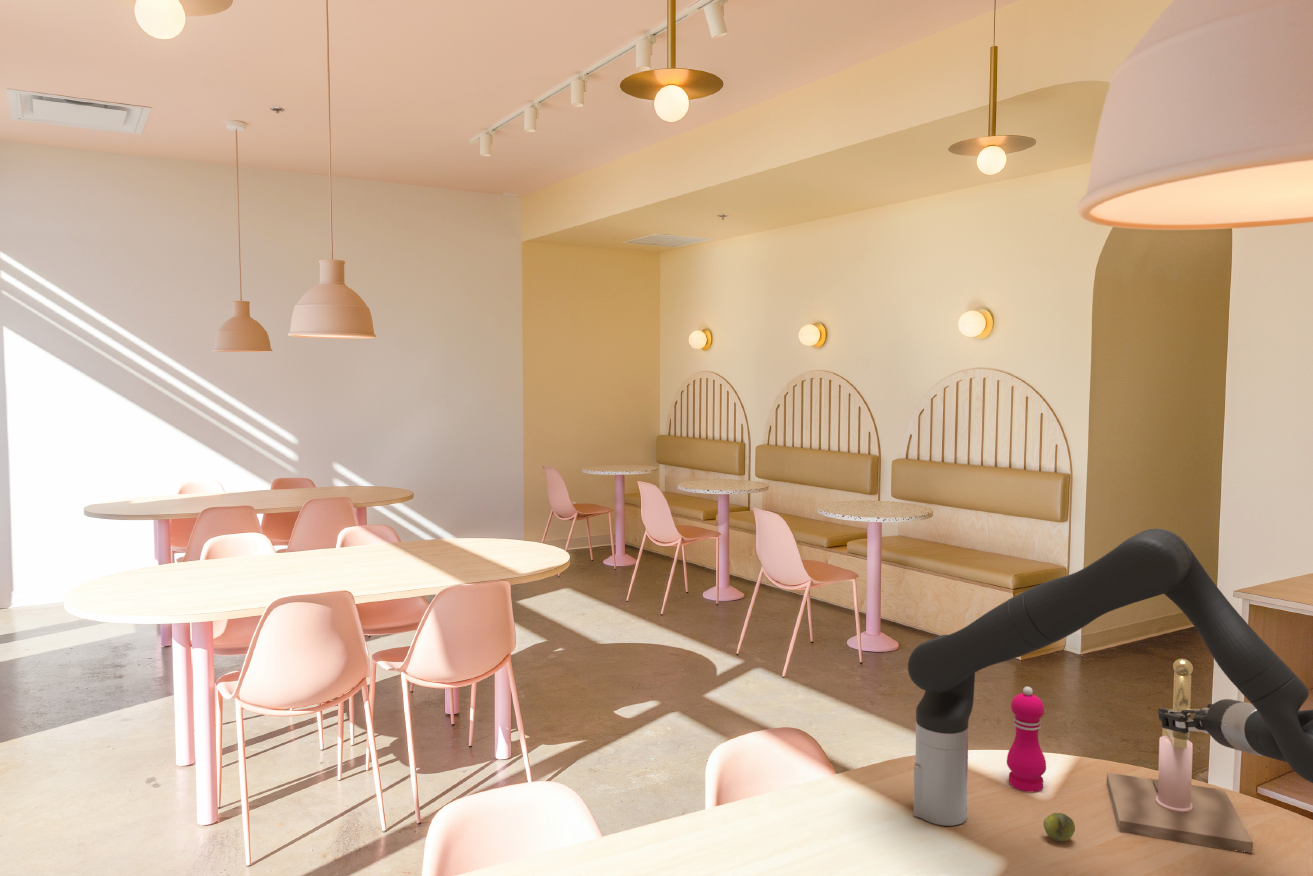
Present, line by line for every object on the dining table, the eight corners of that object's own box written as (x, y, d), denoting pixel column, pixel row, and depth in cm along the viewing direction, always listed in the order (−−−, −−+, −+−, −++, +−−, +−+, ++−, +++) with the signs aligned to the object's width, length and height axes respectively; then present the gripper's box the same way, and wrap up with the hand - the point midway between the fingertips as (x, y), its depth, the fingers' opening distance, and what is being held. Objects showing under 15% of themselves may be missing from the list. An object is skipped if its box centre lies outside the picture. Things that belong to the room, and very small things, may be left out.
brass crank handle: (1155, 772, 166) (1160, 636, 165) (1173, 774, 165) (1177, 637, 164) (1170, 809, 152) (1175, 660, 150) (1189, 812, 151) (1194, 662, 149)
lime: (1039, 836, 150) (1039, 809, 150) (1060, 831, 152) (1060, 804, 151) (1059, 849, 146) (1059, 821, 146) (1080, 844, 148) (1081, 816, 147)
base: (1119, 831, 151) (1119, 816, 151) (1106, 782, 170) (1106, 768, 170) (1252, 854, 144) (1253, 838, 144) (1224, 799, 162) (1224, 785, 162)
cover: (1158, 809, 155) (1160, 745, 154) (1153, 794, 161) (1155, 733, 160) (1195, 815, 153) (1197, 750, 152) (1188, 800, 158) (1191, 737, 158)
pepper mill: (1052, 793, 165) (1054, 693, 164) (1014, 793, 166) (1016, 693, 164) (1036, 776, 173) (1038, 680, 171) (1000, 776, 173) (1002, 680, 171)
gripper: (1287, 698, 133) (1221, 686, 149) (1197, 706, 133) (1140, 693, 149) (1298, 748, 132) (1230, 730, 148) (1206, 756, 132) (1148, 738, 148)
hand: (1185, 712), depth 148 cm, fingers open, 8 cm apart
